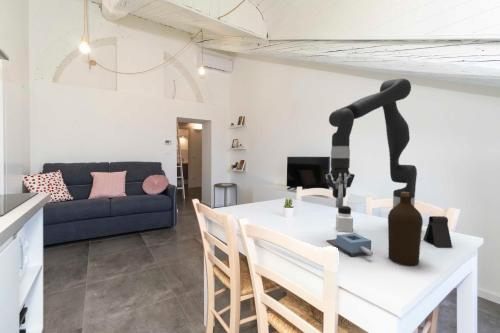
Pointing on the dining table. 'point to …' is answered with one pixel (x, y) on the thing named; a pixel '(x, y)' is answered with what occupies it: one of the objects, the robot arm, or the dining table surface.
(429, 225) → the black folding stand
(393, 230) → the olive oil
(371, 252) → the block
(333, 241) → the rubber pad
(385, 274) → the dining table surface
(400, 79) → the robot arm
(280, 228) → the dining table surface
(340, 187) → the chuck key
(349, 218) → the medicine bottle
